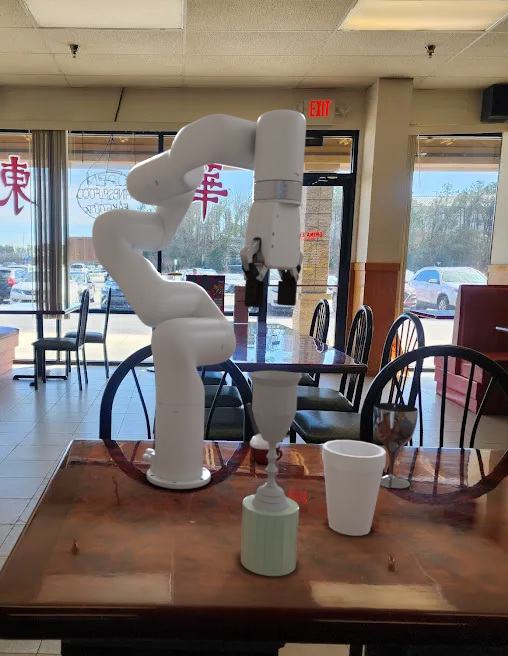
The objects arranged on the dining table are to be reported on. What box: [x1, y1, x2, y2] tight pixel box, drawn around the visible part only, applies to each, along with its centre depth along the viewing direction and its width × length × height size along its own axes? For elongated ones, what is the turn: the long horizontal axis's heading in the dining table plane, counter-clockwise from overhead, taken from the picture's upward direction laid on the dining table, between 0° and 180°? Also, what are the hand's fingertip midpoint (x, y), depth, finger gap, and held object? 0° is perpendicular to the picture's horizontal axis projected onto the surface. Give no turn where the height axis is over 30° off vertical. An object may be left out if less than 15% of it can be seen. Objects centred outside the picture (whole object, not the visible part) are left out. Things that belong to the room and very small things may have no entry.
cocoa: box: [245, 402, 283, 465], centre depth 123 cm, size 10×6×12 cm, turn 16°
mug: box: [240, 494, 300, 577], centre depth 81 cm, size 10×8×8 cm
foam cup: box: [321, 439, 387, 536], centre depth 91 cm, size 10×9×13 cm
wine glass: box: [372, 402, 419, 489], centre depth 112 cm, size 8×8×15 cm
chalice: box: [249, 370, 303, 511], centre depth 78 cm, size 7×7×18 cm
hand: (270, 306), depth 91 cm, fingers open, 9 cm apart
